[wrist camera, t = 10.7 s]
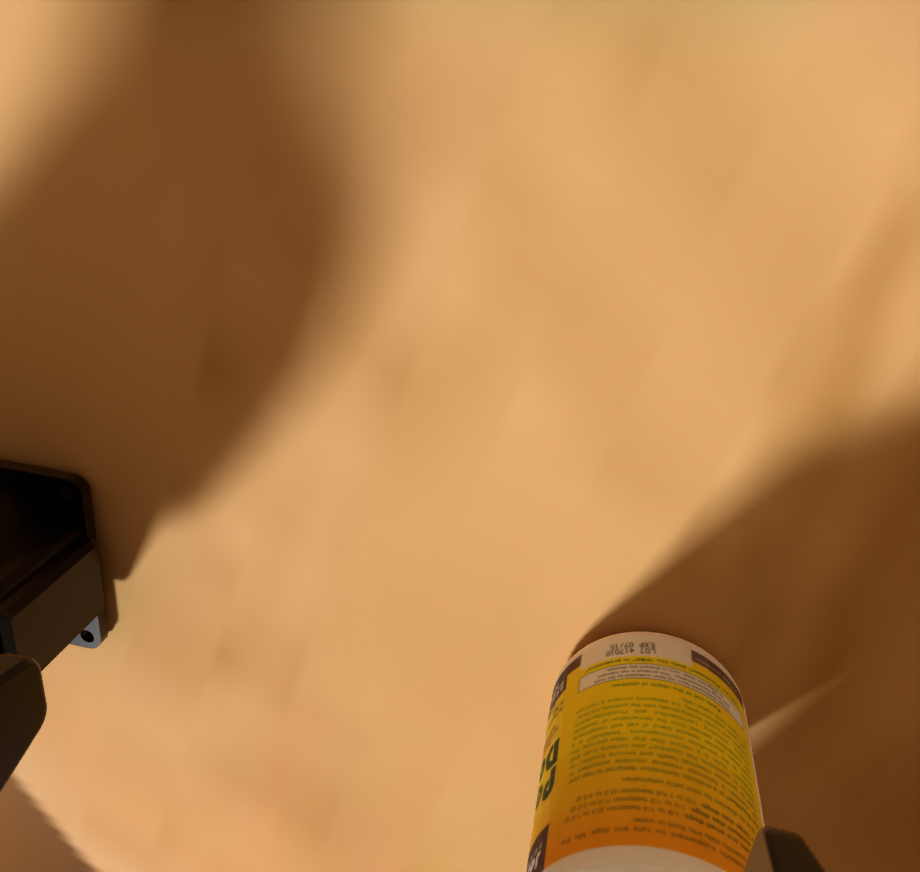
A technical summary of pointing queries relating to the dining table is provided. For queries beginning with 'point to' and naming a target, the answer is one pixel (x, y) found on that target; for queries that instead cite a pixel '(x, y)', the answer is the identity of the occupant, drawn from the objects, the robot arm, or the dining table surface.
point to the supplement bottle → (645, 763)
